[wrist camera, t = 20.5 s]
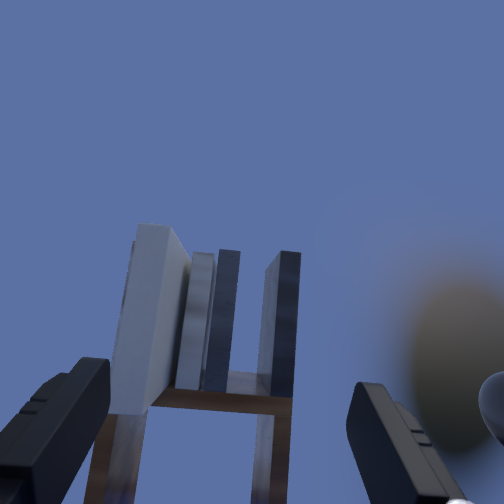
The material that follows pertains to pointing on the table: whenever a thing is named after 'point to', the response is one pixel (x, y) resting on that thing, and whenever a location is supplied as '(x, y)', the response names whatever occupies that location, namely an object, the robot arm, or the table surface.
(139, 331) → the white book
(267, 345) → the book stand
